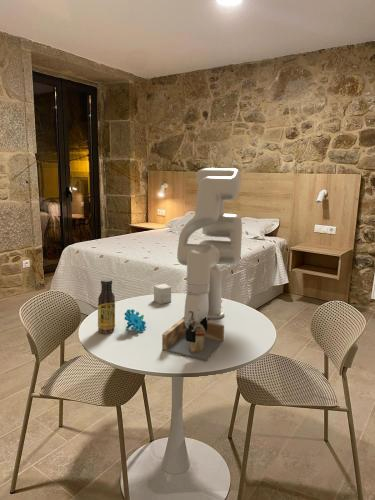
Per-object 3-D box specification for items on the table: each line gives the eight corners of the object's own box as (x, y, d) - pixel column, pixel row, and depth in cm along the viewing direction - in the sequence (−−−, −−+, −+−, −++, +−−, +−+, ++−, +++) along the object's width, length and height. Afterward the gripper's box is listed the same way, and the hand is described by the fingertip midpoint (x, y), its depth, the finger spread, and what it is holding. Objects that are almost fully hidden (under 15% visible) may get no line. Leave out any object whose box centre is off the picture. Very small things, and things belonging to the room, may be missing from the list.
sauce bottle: (100, 335, 134) (98, 283, 130) (96, 329, 140) (94, 278, 135) (118, 332, 137) (116, 281, 133) (113, 325, 143) (111, 276, 138)
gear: (137, 333, 133) (122, 311, 135) (126, 342, 135) (112, 320, 137) (152, 326, 143) (138, 305, 145) (142, 334, 145) (128, 313, 147)
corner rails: (183, 332, 138) (183, 317, 137) (223, 341, 132) (224, 325, 130) (162, 350, 124) (162, 334, 123) (206, 361, 117) (206, 344, 116)
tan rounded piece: (210, 346, 126) (211, 319, 123) (194, 354, 120) (195, 325, 118) (199, 341, 129) (199, 314, 127) (183, 348, 124) (183, 320, 122)
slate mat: (183, 332, 138) (183, 330, 138) (223, 341, 132) (223, 339, 131) (162, 350, 124) (162, 348, 124) (206, 361, 117) (206, 359, 117)
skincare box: (165, 298, 174) (165, 283, 172) (171, 302, 169) (171, 286, 167) (153, 300, 171) (153, 285, 169) (159, 304, 166) (159, 288, 164)
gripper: (198, 278, 130) (197, 324, 133) (175, 293, 114) (175, 343, 118) (218, 281, 126) (216, 328, 130) (197, 297, 111) (196, 349, 115)
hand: (196, 335), depth 124 cm, fingers open, 9 cm apart
